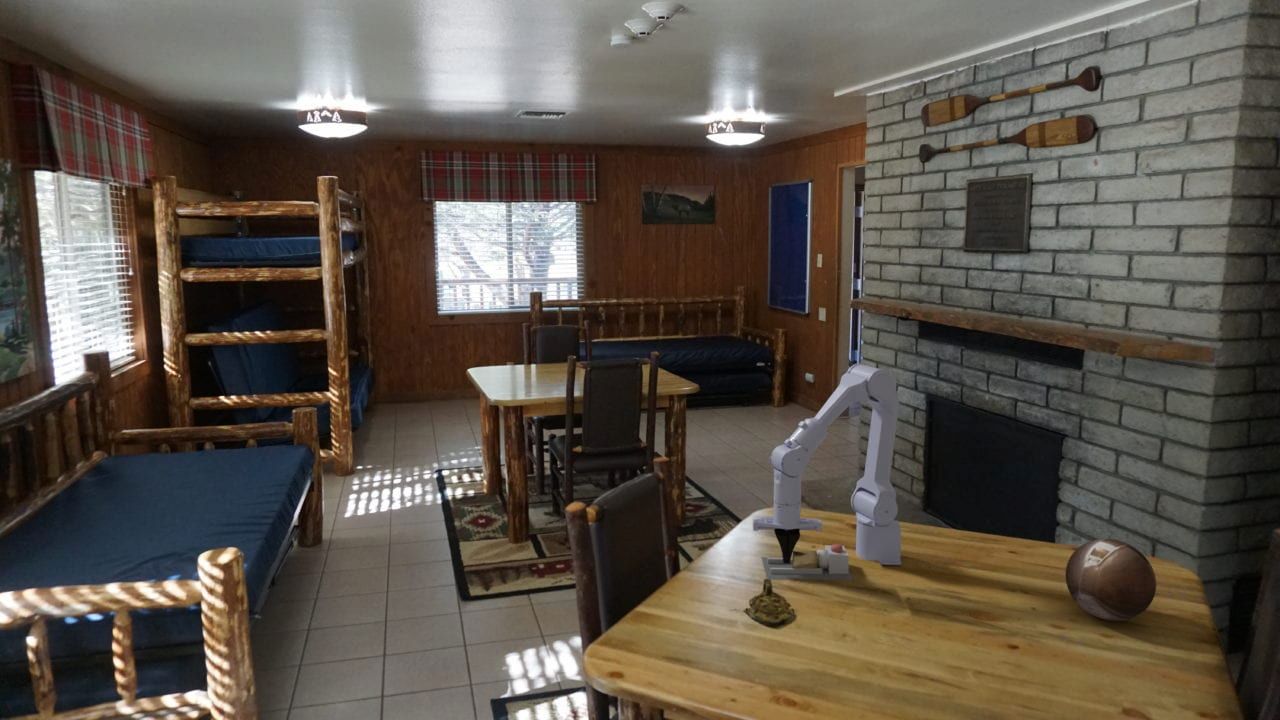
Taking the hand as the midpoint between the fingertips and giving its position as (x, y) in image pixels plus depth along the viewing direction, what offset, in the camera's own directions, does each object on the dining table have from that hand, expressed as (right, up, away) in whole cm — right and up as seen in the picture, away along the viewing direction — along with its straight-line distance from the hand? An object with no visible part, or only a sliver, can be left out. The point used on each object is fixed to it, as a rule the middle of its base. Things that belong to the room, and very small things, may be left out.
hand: (786, 561), depth 184 cm
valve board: (+4, -2, 0) cm, 5 cm away
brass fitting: (+4, -1, 0) cm, 4 cm away
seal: (-6, -6, -18) cm, 20 cm away
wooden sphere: (+57, -5, -22) cm, 62 cm away
